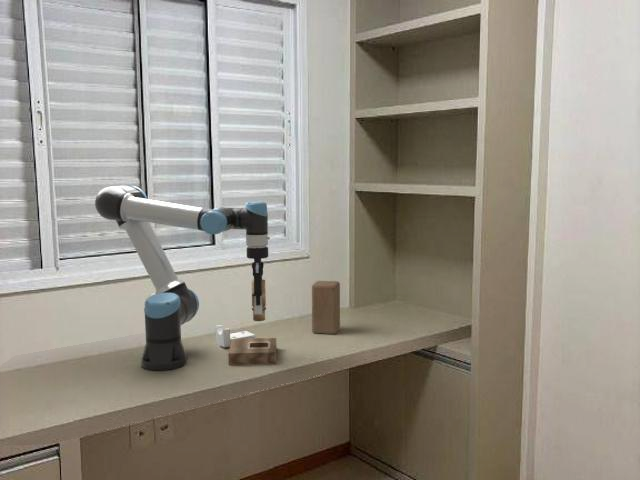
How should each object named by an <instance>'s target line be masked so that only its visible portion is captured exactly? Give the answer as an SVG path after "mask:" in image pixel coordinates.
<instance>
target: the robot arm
mask: <svg viewBox="0 0 640 480" xmlns="http://www.w3.org/2000/svg"><path fill="white" fill-rule="evenodd" d="M94 205H95V206H94V207H95V209H96V211H97V213H98V214H99V215H100V217H102V218H103V219H106V220H108V221H115V222H116V224H117V226H118V227H119V229H122V230H124V231H125V232H126V233H127V234H126V235H128V237H129V239H130V242H131V243H132V245H133V248H134V249H135V251H136V252H137V253H136V254H137V255H138V257H139V259H140V261H141V263H142V266H143V267H144V269H145V270H146V273H147V275H148V276H149V278H150V281H151V282H152V284H153V287H154V289H155V293H154V294H153V295H150V296H148V297H147V298H146V300H145V301H144V308H143V310H144V311H143V312H144V313H143V314H144V325H145V326H144V327H145V329H144V330H145V346H144V349H143V353H142V356H141V359H140V360H141V362H140V363H141V367H142V368H143V369H145V370H149V371H168V370H174V369H178V368H181V367H184V366H185V365H186V364H187V363H188V354H187V353H186V350H185V347H184V345H183V341H182V329H181V328H182V326H183V325H184V324H185V323H188V322H191V320H192V319H193V318H194V317H195V316H196V315H197V313H198V311H199V308H200V300H199V297H198V295H197V294H196V293H195V292H194V290H192V289H190V288H188V286H187V284H186V282H185V281H184V280H181V279H179V278H178V276H177V274H176V272H175V270H174V268H173V265H172V264H171V261H170V260H169V258H168V256H167V254H166V252H165V251H164V248H163V247H162V245H161V244H162V243H160V241H159V238H158V237H157V235H156V233H155V231H154V229H153V227H152V225H151V223H152V224H158V225H165V226H170V227H178V228H184V229H188V230H189V229H190V230H197V231H201V232H204V233H206V234H209V235H218V234H221V233H224V232H227V231H229V230H245V233H246V234H245V244H246V246H247V247H246V258H248V259H250V260H251V259H252V260H253V261H254V262H251V269H252V276H253V280H254V294H252V293H251V297H252V296H254V312H255V314H262V290H261V279H263V274H264V267H265V265H264V262H263V261H262V259H267V258H269V247H268V245H269V240H270V239H271V238H270V236H268V234H269V231H268V230H269V227H268V226H269V223H268V222H269V221H268V219H269V214H268V205H267V203H266V202H264V201H248V202H247V201H246V203H245V205H244V207H215V208H213V209H212V208H206V207H205V208H204V207H199V206H193V205H186V204H180V203H175V202H174V203H173V202H167V201H161V200H154V199H149V198H148V196H147V194H146V193H145V191H143V190H142V189H141V188H140V187H138V186H135V185H131V184H123V185H116V186H107V187H104V188H103V189H101V190H100V191H99V192H98V193H97V194H96V197H95V201H94Z"/></svg>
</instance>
